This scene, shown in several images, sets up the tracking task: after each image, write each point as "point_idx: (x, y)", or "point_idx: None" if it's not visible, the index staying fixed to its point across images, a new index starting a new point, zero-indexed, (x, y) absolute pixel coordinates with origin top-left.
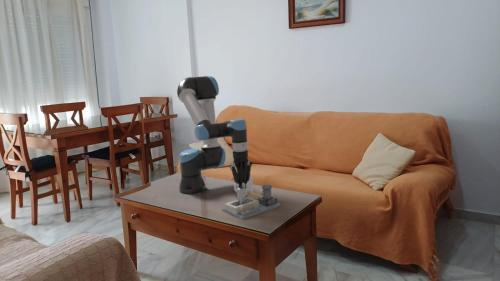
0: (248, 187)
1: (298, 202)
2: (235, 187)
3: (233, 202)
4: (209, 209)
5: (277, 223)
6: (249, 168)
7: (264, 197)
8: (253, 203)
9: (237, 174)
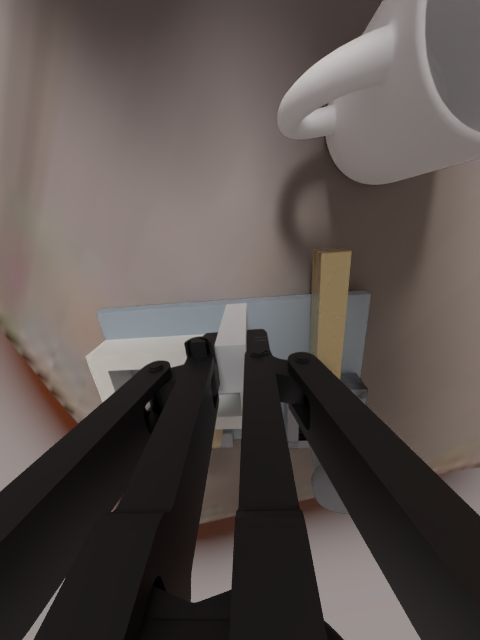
0: (400, 175)
1: (431, 442)
2: (285, 126)
3: (136, 369)
4: (43, 245)
5: (225, 509)
6: (410, 591)
7: None
8: (216, 439)
9: (152, 439)
